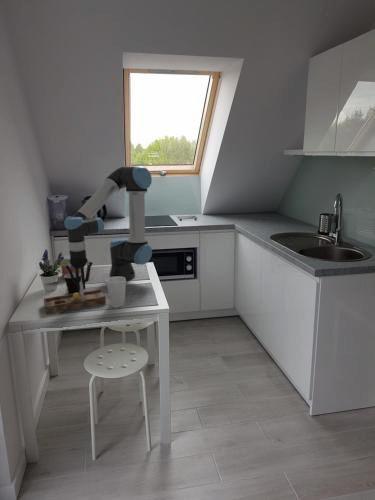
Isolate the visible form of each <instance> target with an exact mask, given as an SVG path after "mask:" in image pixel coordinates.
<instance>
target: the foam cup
mask: <svg viewBox="0 0 375 500" xmlns="http://www.w3.org/2000/svg"><path fill="white" fill-rule="evenodd" d="M105 285H106V287H107V292H108V296H109V301H110V305H111V307H113V308H120V307H123V306H124V305H125V300H126V285H127V280H126V279H125V277H120V276H117V277H110V276H109V277H108V278H106V280H105Z"/></svg>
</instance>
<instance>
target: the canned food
mask: <svg viewBox="0 0 375 500" xmlns="http://www.w3.org/2000/svg"><path fill="white" fill-rule="evenodd" d="M62 256H63V257H64V259H63V261H62V262H61V261H60V267H61V274H62V276H61V277H62V278H63V279H65V277H64V276H65V275H67V274H70V273H69V271H68V269H67V268H66V267H65V265H66V264H68V263H70V262H69V261H70V254H66V255H65V254H64V255H62ZM70 269H71V271H72V273H75V268H74V267H73V266H72V265H71V268H70ZM78 270H79V273H80V274H81V269H80V268H79V269H78Z"/></svg>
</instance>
